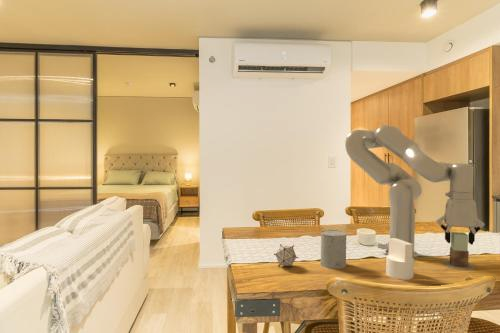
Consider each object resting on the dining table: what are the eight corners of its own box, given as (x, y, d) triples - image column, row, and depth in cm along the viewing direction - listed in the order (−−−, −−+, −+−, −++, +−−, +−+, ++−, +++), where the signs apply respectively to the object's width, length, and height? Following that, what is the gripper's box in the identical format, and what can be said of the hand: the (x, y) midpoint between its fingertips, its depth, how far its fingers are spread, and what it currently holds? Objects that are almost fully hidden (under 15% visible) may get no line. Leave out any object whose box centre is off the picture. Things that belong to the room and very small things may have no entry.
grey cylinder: (318, 267, 134) (319, 234, 133) (322, 259, 143) (322, 229, 142) (344, 270, 130) (345, 236, 130) (347, 262, 139) (347, 231, 139)
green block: (454, 250, 134) (454, 234, 134) (450, 247, 138) (451, 231, 138) (467, 251, 133) (468, 235, 132) (463, 248, 137) (464, 232, 137)
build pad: (448, 268, 133) (448, 267, 133) (442, 261, 141) (442, 260, 141) (476, 270, 130) (476, 269, 130) (468, 263, 139) (468, 262, 139)
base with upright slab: (419, 278, 123) (420, 243, 122) (397, 280, 120) (398, 245, 120) (401, 269, 131) (402, 237, 131) (380, 272, 129) (381, 239, 128)
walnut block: (453, 266, 134) (453, 250, 134) (449, 262, 139) (450, 247, 139) (468, 267, 133) (468, 251, 132) (464, 263, 138) (464, 248, 137)
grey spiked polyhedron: (289, 275, 136) (305, 253, 136) (285, 274, 128) (301, 251, 129) (271, 260, 140) (287, 239, 140) (266, 258, 132) (282, 236, 133)
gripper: (437, 196, 133) (436, 243, 134) (491, 198, 129) (489, 247, 130) (433, 194, 141) (431, 239, 141) (483, 195, 136) (481, 242, 137)
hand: (459, 242), depth 135 cm, fingers open, 7 cm apart
